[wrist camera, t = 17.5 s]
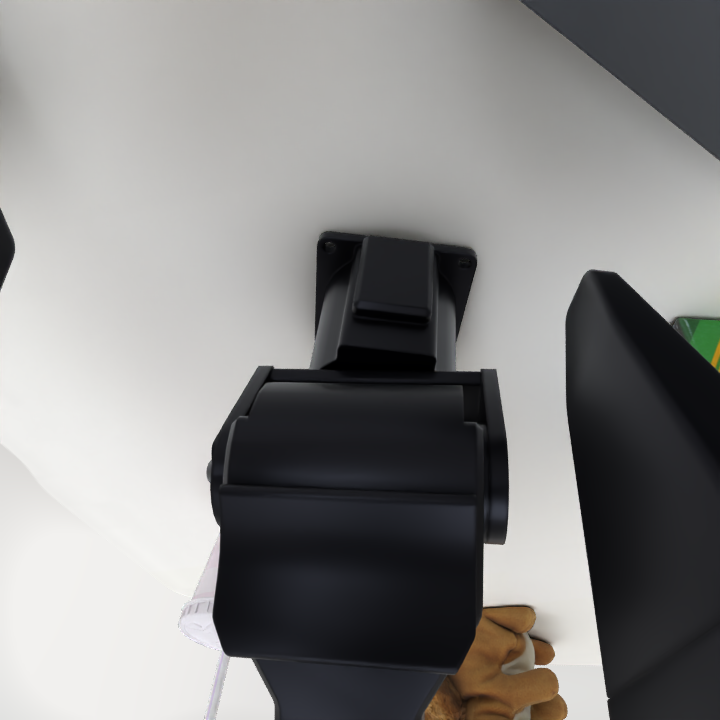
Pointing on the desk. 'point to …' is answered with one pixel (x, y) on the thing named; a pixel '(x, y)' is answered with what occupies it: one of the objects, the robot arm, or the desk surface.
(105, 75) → the desk surface
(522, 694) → the stuffed squirrel
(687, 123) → the organizer
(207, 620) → the smoothie
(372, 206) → the desk surface
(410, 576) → the robot arm
